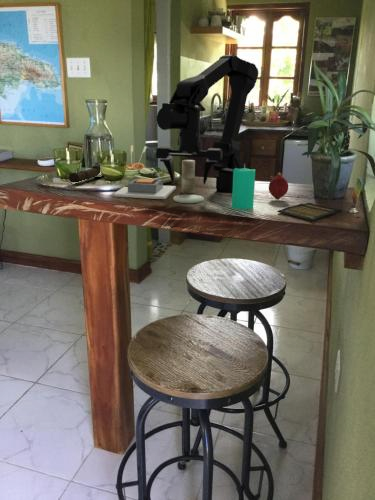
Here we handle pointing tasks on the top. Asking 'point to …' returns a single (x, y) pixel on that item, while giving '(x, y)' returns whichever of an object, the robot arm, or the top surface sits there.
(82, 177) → the dark brown elongated bar
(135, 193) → the white flat square slab
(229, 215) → the top surface
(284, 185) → the onion
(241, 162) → the robot arm
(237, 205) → the candle
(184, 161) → the tan cylinder
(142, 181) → the button
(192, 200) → the mat
